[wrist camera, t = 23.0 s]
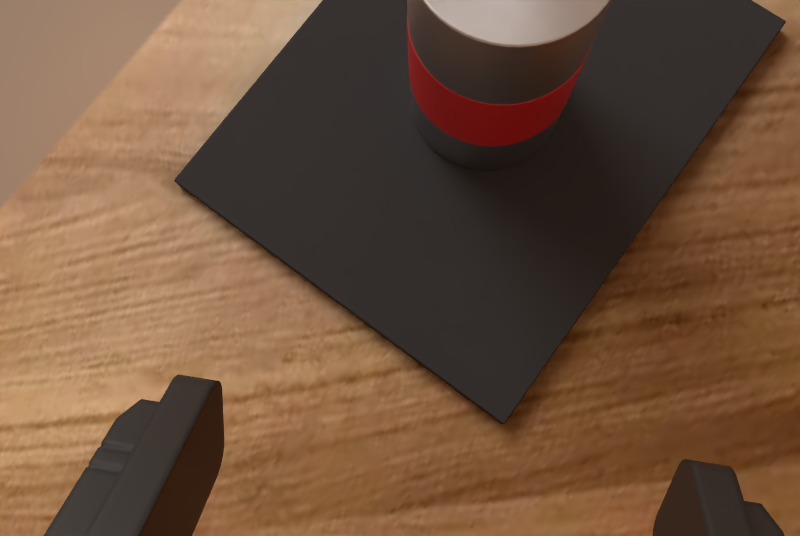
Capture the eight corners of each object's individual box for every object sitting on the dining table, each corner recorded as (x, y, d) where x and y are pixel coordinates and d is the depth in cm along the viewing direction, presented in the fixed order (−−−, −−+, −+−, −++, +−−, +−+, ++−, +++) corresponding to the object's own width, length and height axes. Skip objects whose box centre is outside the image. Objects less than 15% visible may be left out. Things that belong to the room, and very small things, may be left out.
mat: (502, 424, 28) (504, 424, 28) (178, 184, 31) (173, 180, 30) (779, 28, 31) (786, 20, 31) (465, -164, 34) (465, -174, 33)
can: (461, 199, 30) (480, 87, 20) (382, 77, 31) (363, -86, 21) (590, 123, 30) (671, -23, 20) (508, 5, 31) (547, -186, 21)
